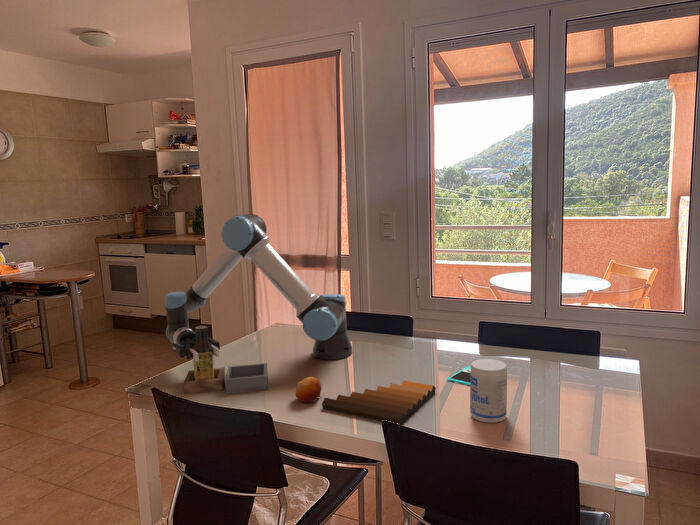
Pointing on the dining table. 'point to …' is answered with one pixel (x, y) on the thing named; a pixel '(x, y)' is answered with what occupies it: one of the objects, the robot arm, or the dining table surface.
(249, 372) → the grey square tray
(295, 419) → the dining table surface
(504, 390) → the supplement tub
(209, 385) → the walnut holder
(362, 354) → the dining table surface
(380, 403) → the brown ridged flat piece
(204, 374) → the sauce bottle
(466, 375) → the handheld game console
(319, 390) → the fruit
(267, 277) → the robot arm
